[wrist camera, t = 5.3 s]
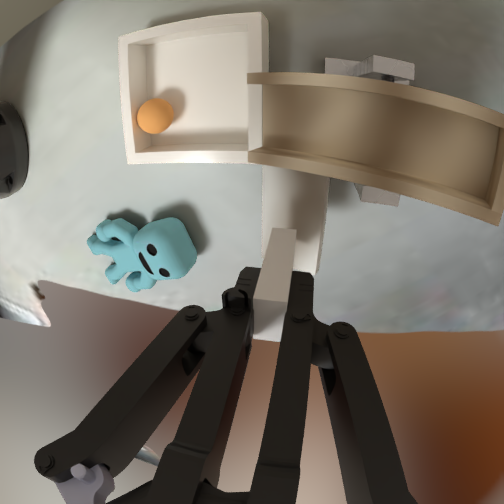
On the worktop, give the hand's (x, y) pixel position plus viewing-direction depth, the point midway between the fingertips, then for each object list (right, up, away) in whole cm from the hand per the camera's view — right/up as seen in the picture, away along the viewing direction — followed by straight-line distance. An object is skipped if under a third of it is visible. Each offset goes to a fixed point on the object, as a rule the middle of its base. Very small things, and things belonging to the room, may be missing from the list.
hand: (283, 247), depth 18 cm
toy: (-15, +1, +15) cm, 21 cm away
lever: (+6, +3, -2) cm, 7 cm away
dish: (-6, +14, +3) cm, 16 cm away
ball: (-10, +11, +3) cm, 16 cm away
